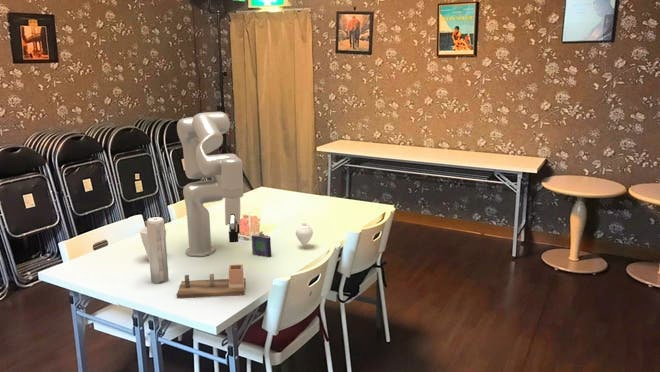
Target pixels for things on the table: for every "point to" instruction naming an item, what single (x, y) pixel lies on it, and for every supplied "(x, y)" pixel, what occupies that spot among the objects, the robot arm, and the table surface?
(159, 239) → the beige tall cylinder
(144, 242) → the cup
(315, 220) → the table surface
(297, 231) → the spinning top
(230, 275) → the sleeve
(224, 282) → the pin board
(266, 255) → the flask
